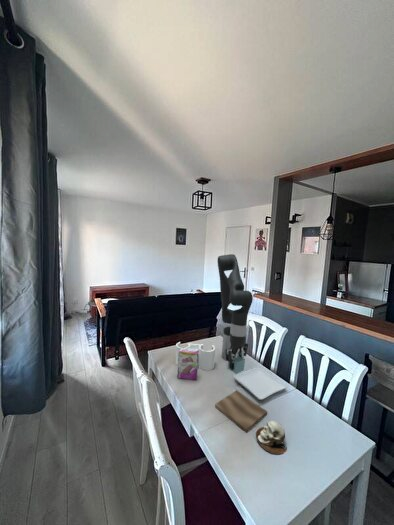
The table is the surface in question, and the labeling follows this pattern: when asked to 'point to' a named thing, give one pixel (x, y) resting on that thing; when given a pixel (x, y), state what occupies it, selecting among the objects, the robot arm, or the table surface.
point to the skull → (272, 437)
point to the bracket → (200, 356)
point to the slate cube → (237, 364)
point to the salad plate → (259, 382)
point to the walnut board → (241, 410)
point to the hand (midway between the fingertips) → (235, 367)
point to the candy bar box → (188, 363)
